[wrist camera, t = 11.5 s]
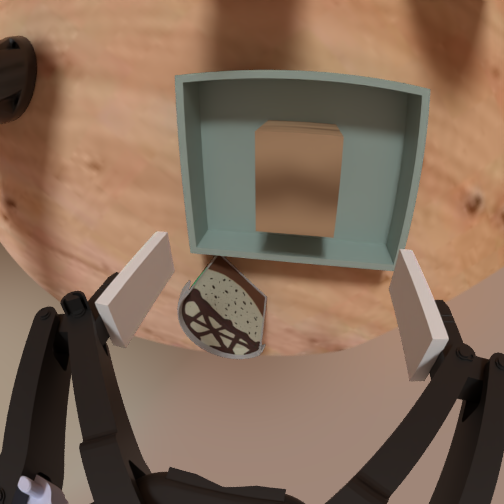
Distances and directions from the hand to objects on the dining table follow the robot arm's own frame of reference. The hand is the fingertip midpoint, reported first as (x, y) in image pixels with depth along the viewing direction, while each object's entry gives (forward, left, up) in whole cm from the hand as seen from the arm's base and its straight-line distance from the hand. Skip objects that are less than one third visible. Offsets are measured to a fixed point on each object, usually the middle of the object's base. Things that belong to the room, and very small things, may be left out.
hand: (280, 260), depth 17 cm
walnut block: (0, +1, -18) cm, 18 cm away
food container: (-9, -17, -19) cm, 27 cm away
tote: (0, +1, -19) cm, 19 cm away
